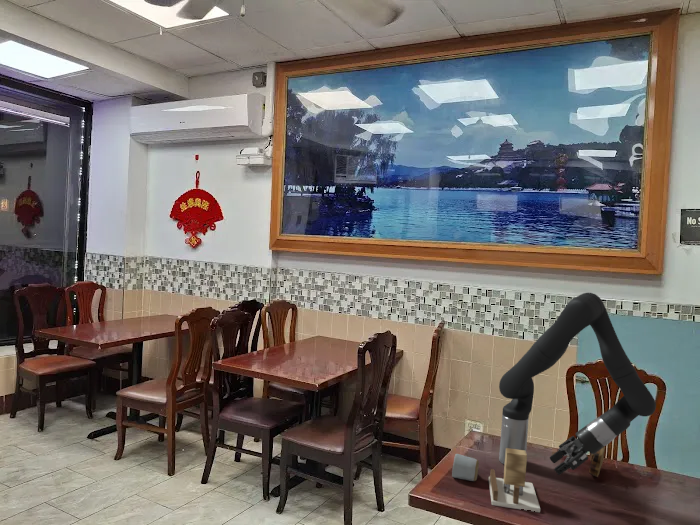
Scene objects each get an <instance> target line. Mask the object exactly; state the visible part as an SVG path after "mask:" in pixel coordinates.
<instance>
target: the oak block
mask: <svg viewBox="0 0 700 525" xmlns="http://www.w3.org/2000/svg"><path fill="white" fill-rule="evenodd" d="M527 459H528V454H527V450H526V451H525V450H518V449H510V448H506V452H505V465H504V469H503V479H504V483H505V484H509V485H516V486H523V487H525V482H526V473H527V463H528V462H527Z"/></svg>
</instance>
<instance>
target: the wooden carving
mask: <svg viewBox="0 0 700 525" xmlns="http://www.w3.org/2000/svg"><path fill="white" fill-rule="evenodd" d="M605 449H606V447H605V446H604V447H603V448H602V449H600V450H599V451H598V452H596V453H595V454H591V453H590V452H589V459H590V464H589V470H588V472H589V475H592V476H594V477H597V478H598V477H599V476H600V473H601V472H600V471H601V469H602V467H603V466H602V465H603V463H604V458H605V451H606V450H605Z"/></svg>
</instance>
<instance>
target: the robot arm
mask: <svg viewBox="0 0 700 525" xmlns="http://www.w3.org/2000/svg"><path fill="white" fill-rule="evenodd" d="M588 326H590V328H592V330H593V332H594V334H595V336H596V339H597V342H598V346H599V350H600V356H601V358H602V362H603V364H604V366H605V368H606V369H607V370H606V371H607V372H608V373H609V375H610V377H611V379H612V380H613V382H614V383H615V385H616V386H617V387H618V388H619V389H620V391H621V393H622V394H623V396H622V397H621V398H620V399H618V401H617V402H616V403H615V404H613V406H612V407H611V408H609V409H608V410H606V411H605V412H603V414H601V415H600V416H598V417H596V418H594V419H593V420H592V421H591V420H590V422H589V423H587V424H586V425H585V426H583V427H582V428H581V429H579V430H578V431H576V432H575V436H576V437H575V436H574V435H572V436H570V437H569V438H568V439H566V440H565V441H563V442H562V443H561V444H559V445H558V449H557V451H556V452H554V453H553V454H551V455H550V456H549V460H550V461H551V462H552V463H553V464H556V463H558V462H559V461H560V460H561V459H563V458H564V457H566V458H565V459H564V461H562V462H561V463H560V464H558V465H557V466H556V467H554V472H556V474H557V475H559V476H561V475H562V474H563V473H565V472H566V471H567V470H569V469H570V470H572V471H574V470H576V469H577V468H578V467H580V466H581V465H582V464H584V463H585V462H586V461H587V460H588V459H589V456H588V455H587V453H589V454H590V453H591V454H595V453H596V452H598V451H599V450H600V449H602V448H603V447H605V446H607V445H609V444H610V443H612V442H613V440H615V438H617V437H618V436H620V435H621V434H622V433H623V432H625V431H626V430H627V429H628V428H629V427H630V425H631V423H632V421H634V420H635V419H636V418H637V417H638V416H640V417H649V416H652V415H653V414H654V413H655V411H656V408H657V403H656V400H655V398H654V396H653V394H652V393H651V392H650V390H649V389H648V387H647V386H646V384H645V383H644V382H643V380H642V379H641V378H640V376H639V374H638V371H637V370H636V368H635V367H634V365H633V364H632V361H631V360H630V359H629V357H628V355H627V353H626V351H625V350H624V347H623V346H622V344H621V342H620V340H619V337H618V335H617V333H616V330H615V328H614V326H613V324H612V321H611V318H610V316H609V314H608V311H607V308H606V306H605V304H604V302H603V300H602V299H601V297H600V296H598V295H597V294H596V293H593V292H583V293H581V294H579V295H577V296H575V297H574V298H572V299H571V300H569V301H568V302H567V304H566V305H565V306H564V308H563V310H562V311H561V313H560V314H559V316H558V317H557V318H556V320H555V322H554V323H553V324H552V325H551V326H549V328H547V329H546V330H545V331H544V332H543V333H542V334H541V335H540V336H539V337H538V338H537V339H536V341H535V342H534V343H533V344H532V345H531V346H530V348H529V349H528V350H527V351H526V352H525V353H524V355H522V357H521V358H520V359H519V360H518V362H516V363H515V365H513V366H512V367H511V368H509V369H508V370H507V371H506V372H505V373H504V374H503V375H502V377H501V378H500V380H499V385H498V388H499V392H500V394H501V395H502V396H503V397H504V398H506V399H509V400H510V401H509V402H508V403H507V404H504V406H503V407H502V415H501V416H502V417H501V430H500V444H499V454H498V460H499V462H500V463H501V464H502V465H504V466H505V452H506V448H510V449H518V450H525V451H526V452H527V446H528V434H529V433H528V432H529V431H528V430H529V420H530V419H529V418H530V414H531V412H532V408H533V402H534V394H535V384H534V379H533V378H534V377H535V376H537V375H540V374H542V373H544V372H545V371H547V370H549V369H551V367H553V366H554V365H555V364H556V363H557V362H558V361H559V360H560V359H561V358H562V357H563V356H564V354H565V353H566V351H568V350H567V349H568V347H569V345H570V343H571V341H572V340H573V339H574V338H575V337H576V336H577V335H578V334H580V332H582V331H583V330H584V329H586V328H587V327H588Z"/></svg>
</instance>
